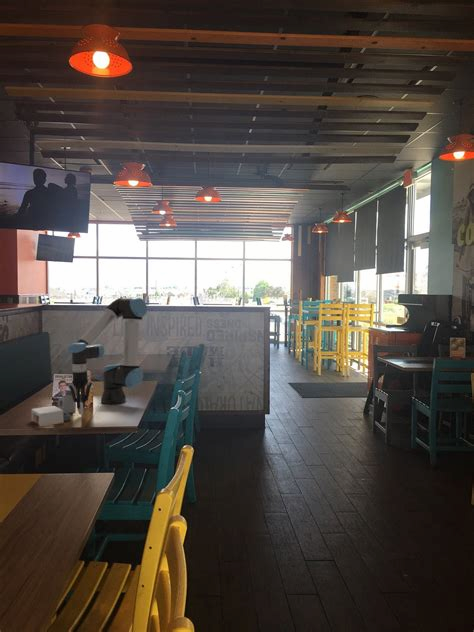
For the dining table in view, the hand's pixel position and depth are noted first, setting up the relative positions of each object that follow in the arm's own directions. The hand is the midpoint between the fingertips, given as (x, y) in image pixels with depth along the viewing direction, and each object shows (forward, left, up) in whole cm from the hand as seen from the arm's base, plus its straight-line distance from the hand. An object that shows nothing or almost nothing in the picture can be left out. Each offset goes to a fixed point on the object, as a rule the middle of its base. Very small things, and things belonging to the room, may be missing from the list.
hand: (81, 414), depth 285 cm
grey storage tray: (+15, 0, -1) cm, 15 cm away
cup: (+2, -16, -2) cm, 17 cm away
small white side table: (+18, 0, -1) cm, 18 cm away
